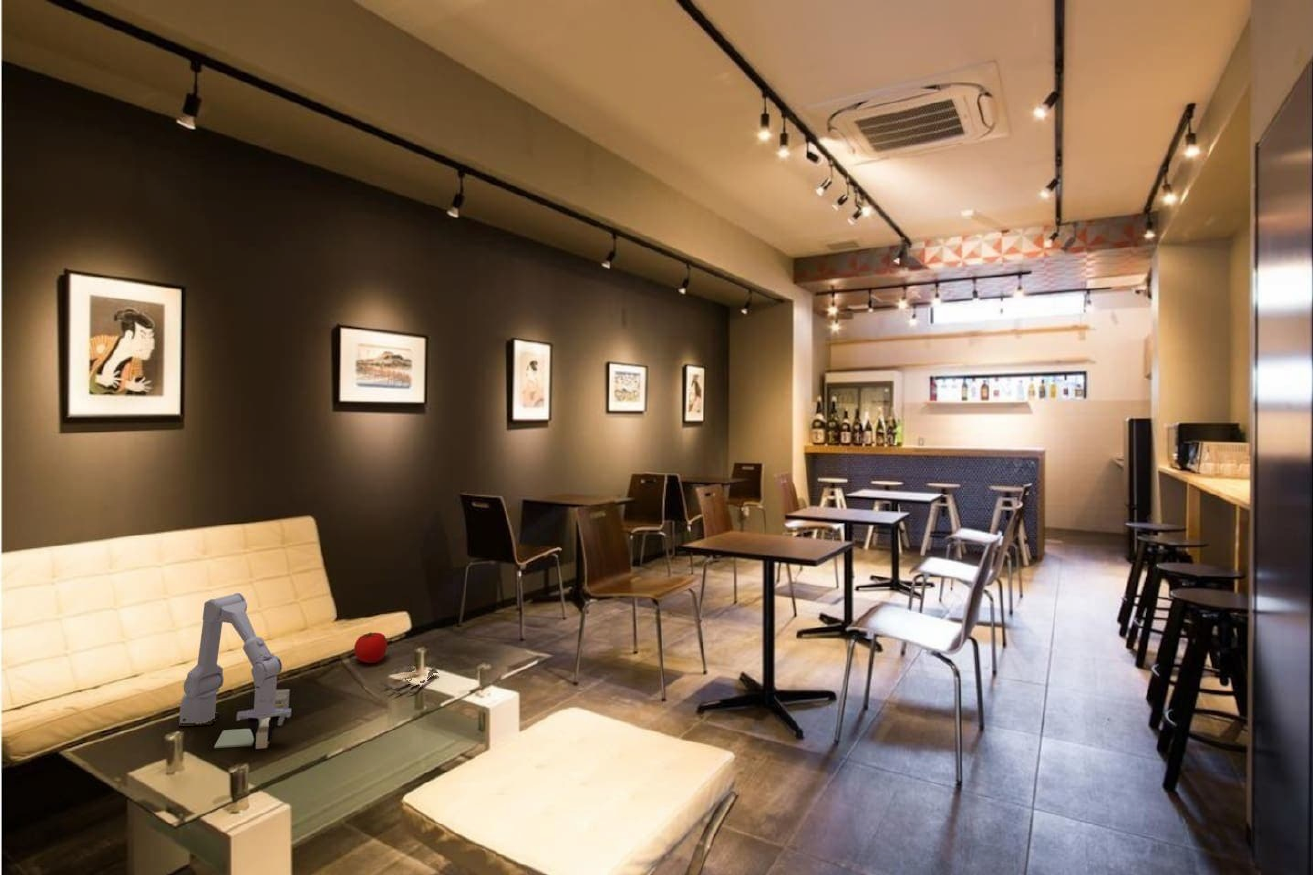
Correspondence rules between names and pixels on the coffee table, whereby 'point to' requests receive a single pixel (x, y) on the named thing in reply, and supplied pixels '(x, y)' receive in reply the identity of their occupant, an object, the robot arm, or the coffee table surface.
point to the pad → (235, 738)
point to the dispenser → (281, 703)
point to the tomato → (370, 647)
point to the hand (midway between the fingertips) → (262, 740)
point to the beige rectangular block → (262, 734)
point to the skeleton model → (406, 669)
